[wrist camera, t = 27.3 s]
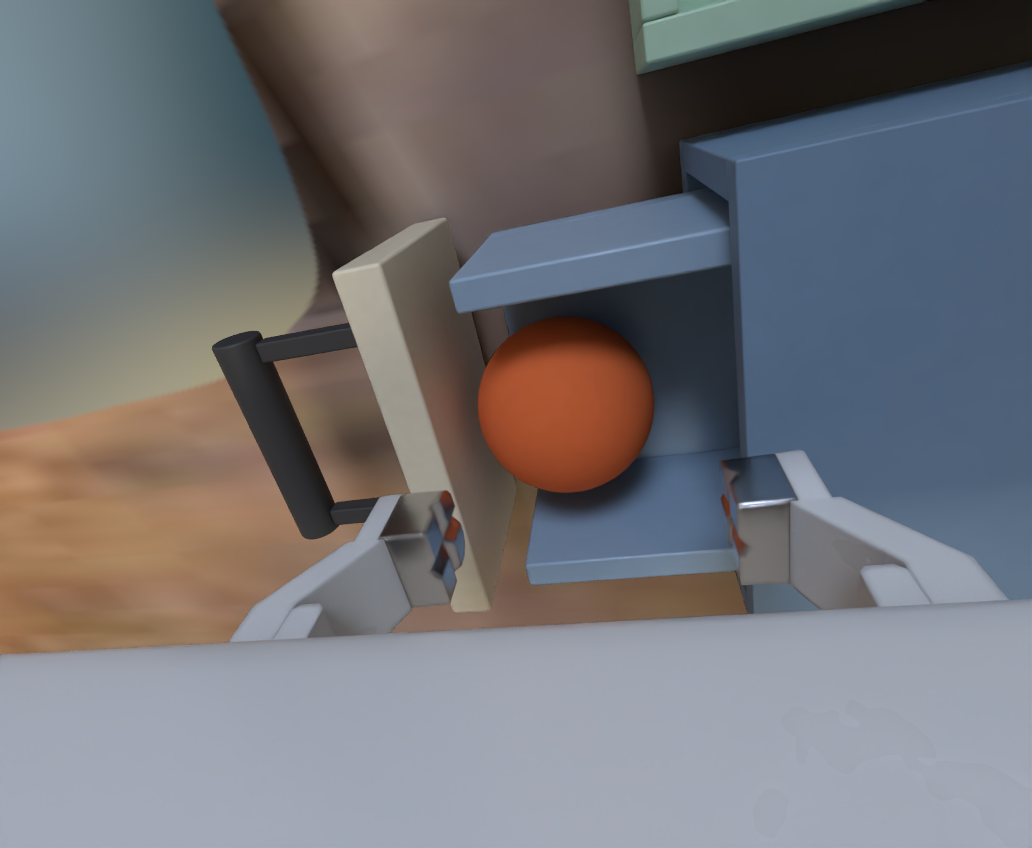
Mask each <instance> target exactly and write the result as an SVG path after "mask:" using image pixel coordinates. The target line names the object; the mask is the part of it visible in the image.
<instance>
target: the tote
mask: <svg viewBox="0 0 1032 848" xmlns="http://www.w3.org/2000/svg"><path fill="white" fill-rule="evenodd" d="M925 1H929V0H629V10H630V19H631V29H632V38H633V48H634V57H635V67H636V73H637V75H640V74H643V73H647V72H651V71H655V70H659V69H663V68H667V67H671V66H675V65H679V64H683V63H687V62H690V61H694V60H698V59H702V58H706V57H710V56H714V55H718V54H722V53H726V52H730V51H734V50H737V49H741V48H745V47H749V46H753V45H757V44H761V43H765V42H769V41H773V40H777V39H781V38H784V37H788V36H792V35H796V34H800V33H804V32H808V31H812V30H816V29H820V28H824V27H828V26H831V25H835V24H839V23H843V22H847V21H851V20H855V19H859V18H863V17H867V16H871V15H875V14H878V13H882V12H886V11H890V10H894V9H898V8H902V7H906V6H910V5H914V4H918V3H922V2H925Z"/></svg>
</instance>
